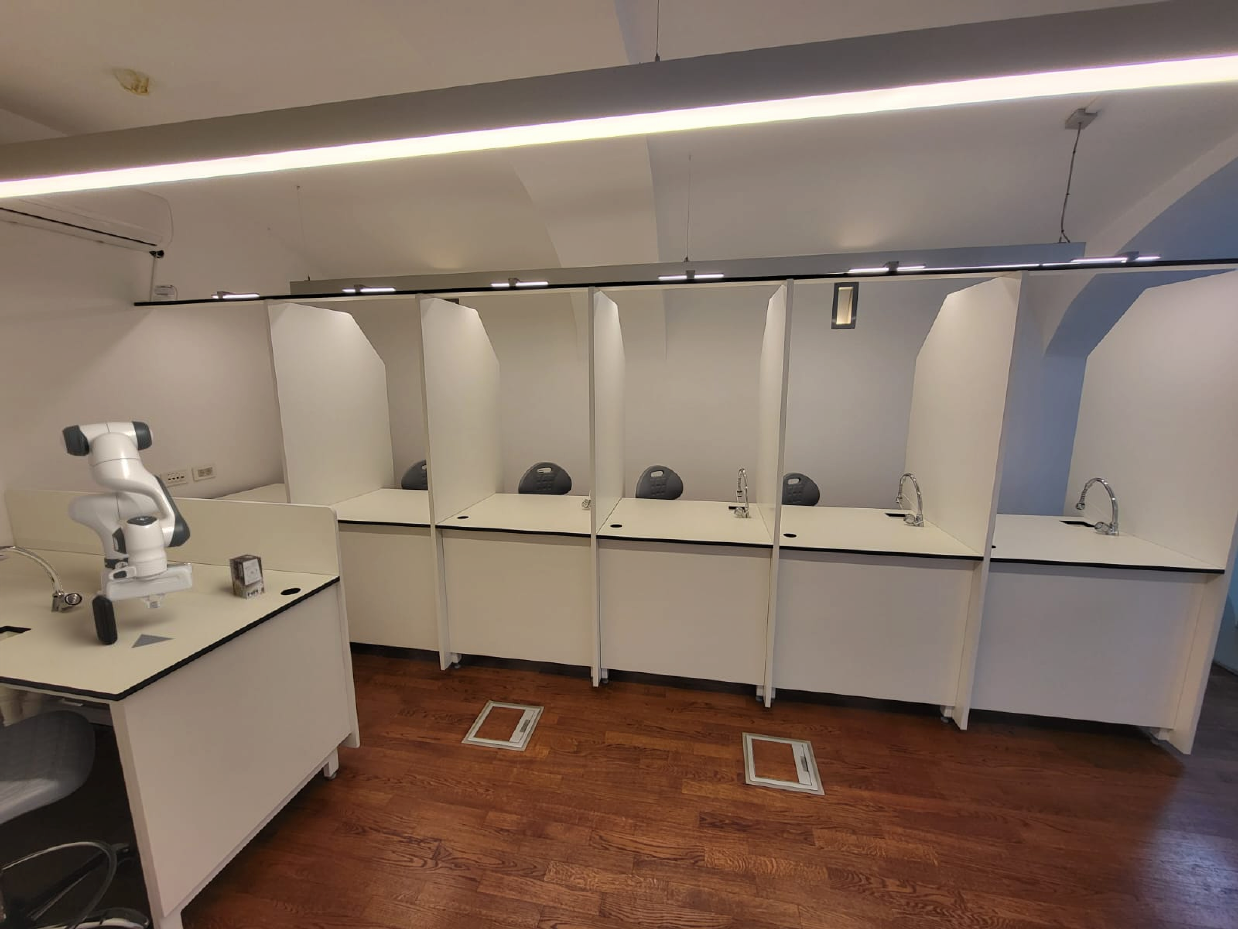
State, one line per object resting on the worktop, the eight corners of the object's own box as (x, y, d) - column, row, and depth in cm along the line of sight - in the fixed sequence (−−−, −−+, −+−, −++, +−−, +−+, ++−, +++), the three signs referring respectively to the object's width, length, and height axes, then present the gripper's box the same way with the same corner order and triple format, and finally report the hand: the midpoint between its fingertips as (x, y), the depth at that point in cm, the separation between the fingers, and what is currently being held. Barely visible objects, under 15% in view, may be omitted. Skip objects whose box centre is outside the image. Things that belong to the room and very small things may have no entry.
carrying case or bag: (95, 639, 150) (88, 595, 148) (108, 635, 152) (102, 592, 150) (106, 648, 144) (99, 602, 142) (120, 644, 147) (113, 599, 145)
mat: (153, 620, 162) (153, 618, 162) (234, 605, 174) (234, 604, 174) (132, 649, 144) (131, 647, 144) (224, 630, 156) (224, 628, 155)
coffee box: (266, 597, 181) (261, 557, 179) (247, 604, 176) (242, 562, 173) (252, 593, 185) (247, 553, 183) (233, 599, 179) (228, 558, 177)
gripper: (193, 558, 160) (198, 597, 162) (108, 569, 149) (115, 611, 151) (189, 564, 155) (194, 604, 157) (100, 576, 144) (107, 618, 146)
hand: (154, 607), depth 154 cm, fingers closed
